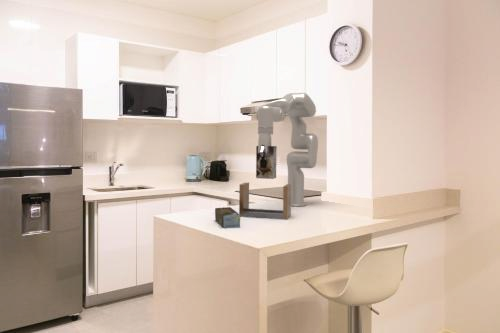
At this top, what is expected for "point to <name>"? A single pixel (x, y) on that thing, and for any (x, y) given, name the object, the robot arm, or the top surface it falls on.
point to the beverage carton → (227, 217)
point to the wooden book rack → (264, 213)
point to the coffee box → (271, 164)
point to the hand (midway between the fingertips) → (265, 167)
